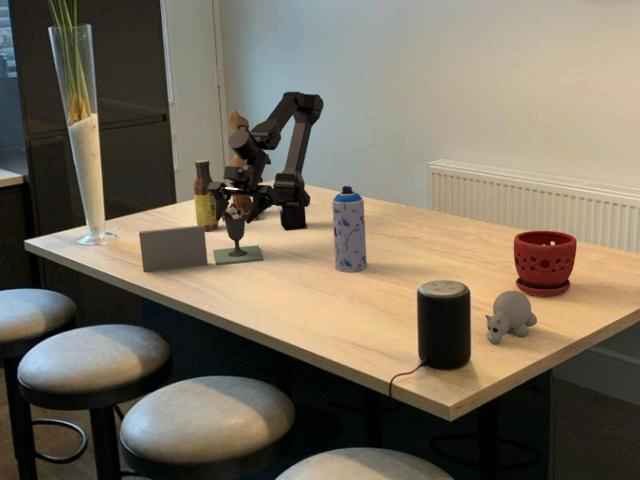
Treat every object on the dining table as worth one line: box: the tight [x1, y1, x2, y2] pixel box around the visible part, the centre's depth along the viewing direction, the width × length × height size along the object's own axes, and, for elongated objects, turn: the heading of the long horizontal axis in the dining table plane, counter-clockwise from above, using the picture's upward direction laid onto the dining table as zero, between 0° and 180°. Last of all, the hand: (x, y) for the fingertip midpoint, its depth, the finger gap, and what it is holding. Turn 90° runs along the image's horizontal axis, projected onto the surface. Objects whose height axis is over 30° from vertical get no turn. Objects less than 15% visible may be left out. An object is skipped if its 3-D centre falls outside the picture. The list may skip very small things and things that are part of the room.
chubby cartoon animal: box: [484, 289, 538, 345], centre depth 181 cm, size 7×12×8 cm, turn 130°
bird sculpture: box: [222, 109, 260, 222], centre depth 278 cm, size 11×12×32 cm
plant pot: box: [513, 230, 578, 297], centre depth 205 cm, size 13×13×12 cm
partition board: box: [138, 225, 209, 272], centre depth 237 cm, size 16×2×10 cm, turn 99°
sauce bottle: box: [193, 159, 220, 232], centre depth 269 cm, size 7×6×20 cm
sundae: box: [221, 196, 248, 257], centre depth 242 cm, size 7×7×15 cm
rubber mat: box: [212, 244, 264, 266], centre depth 244 cm, size 12×12×1 cm
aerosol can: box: [331, 185, 368, 273], centre depth 227 cm, size 8×8×20 cm
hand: (232, 221), depth 240 cm, fingers open, 9 cm apart
